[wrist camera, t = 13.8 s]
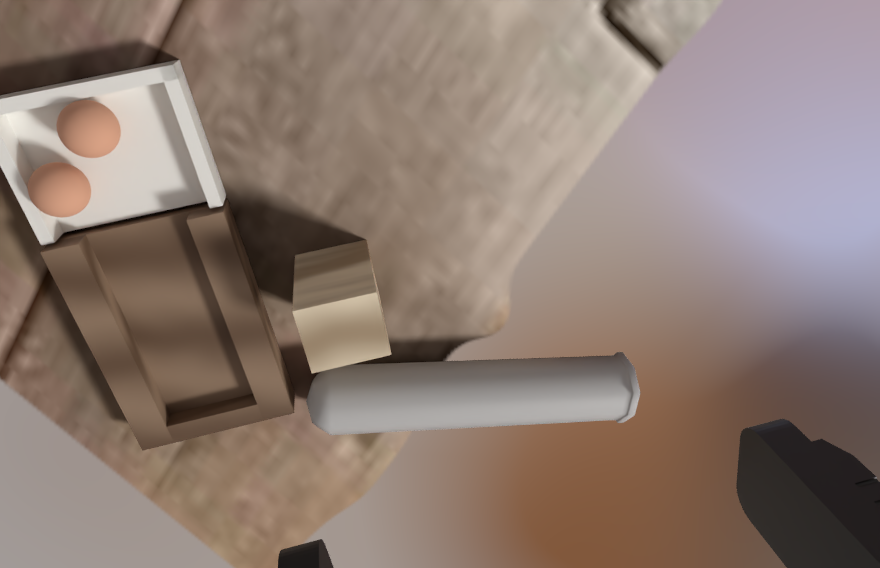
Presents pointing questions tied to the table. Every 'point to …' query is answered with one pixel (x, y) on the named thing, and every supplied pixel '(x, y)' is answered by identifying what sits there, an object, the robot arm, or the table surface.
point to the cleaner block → (338, 307)
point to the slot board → (174, 322)
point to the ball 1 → (88, 128)
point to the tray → (132, 161)
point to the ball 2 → (59, 189)
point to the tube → (472, 394)
